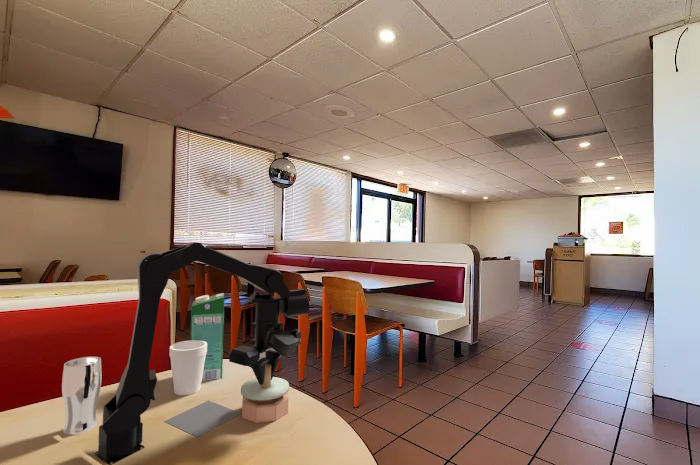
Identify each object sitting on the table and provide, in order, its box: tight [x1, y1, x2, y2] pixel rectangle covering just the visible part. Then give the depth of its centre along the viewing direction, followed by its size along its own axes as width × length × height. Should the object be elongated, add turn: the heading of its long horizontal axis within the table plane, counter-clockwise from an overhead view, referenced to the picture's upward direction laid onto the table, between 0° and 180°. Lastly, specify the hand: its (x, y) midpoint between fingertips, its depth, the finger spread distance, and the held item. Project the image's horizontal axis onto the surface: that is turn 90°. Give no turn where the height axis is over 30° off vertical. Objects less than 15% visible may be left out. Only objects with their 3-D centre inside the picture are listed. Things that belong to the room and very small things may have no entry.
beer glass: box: [61, 356, 103, 436], centre depth 77 cm, size 7×7×15 cm
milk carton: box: [190, 292, 225, 382], centre depth 107 cm, size 9×9×25 cm
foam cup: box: [169, 339, 207, 396], centre depth 96 cm, size 10×9×13 cm
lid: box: [240, 364, 290, 400], centre depth 86 cm, size 12×12×6 cm
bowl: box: [241, 392, 289, 424], centre depth 86 cm, size 11×11×4 cm
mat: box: [163, 400, 242, 438], centre depth 82 cm, size 12×12×1 cm
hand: (265, 382), depth 86 cm, fingers closed on lid, 3 cm apart
